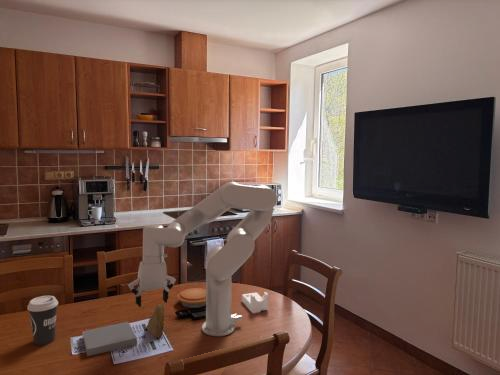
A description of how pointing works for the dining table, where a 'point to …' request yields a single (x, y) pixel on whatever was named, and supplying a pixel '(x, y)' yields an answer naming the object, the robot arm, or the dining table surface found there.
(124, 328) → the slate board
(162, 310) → the rock
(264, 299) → the bracket
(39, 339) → the coffee cup
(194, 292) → the pie
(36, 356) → the dining table surface
